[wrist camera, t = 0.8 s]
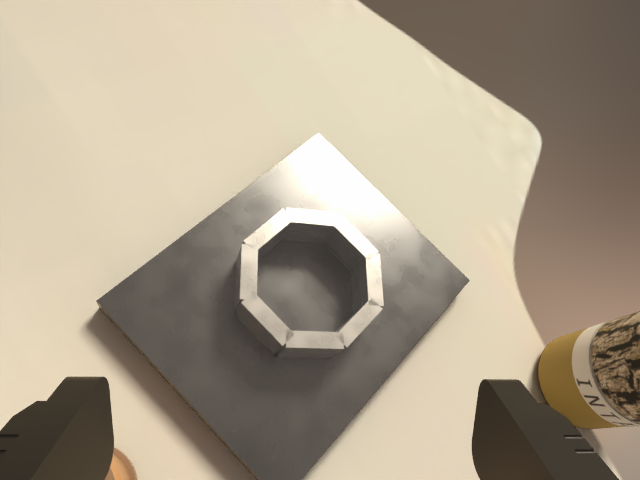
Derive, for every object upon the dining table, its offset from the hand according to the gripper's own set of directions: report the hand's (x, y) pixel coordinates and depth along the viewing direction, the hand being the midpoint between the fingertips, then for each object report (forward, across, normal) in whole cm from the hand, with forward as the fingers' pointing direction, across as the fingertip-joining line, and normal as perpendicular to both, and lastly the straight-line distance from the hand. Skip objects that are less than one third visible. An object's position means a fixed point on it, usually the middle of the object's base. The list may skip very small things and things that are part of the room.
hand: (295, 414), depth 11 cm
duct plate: (+24, 0, +7) cm, 25 cm away
